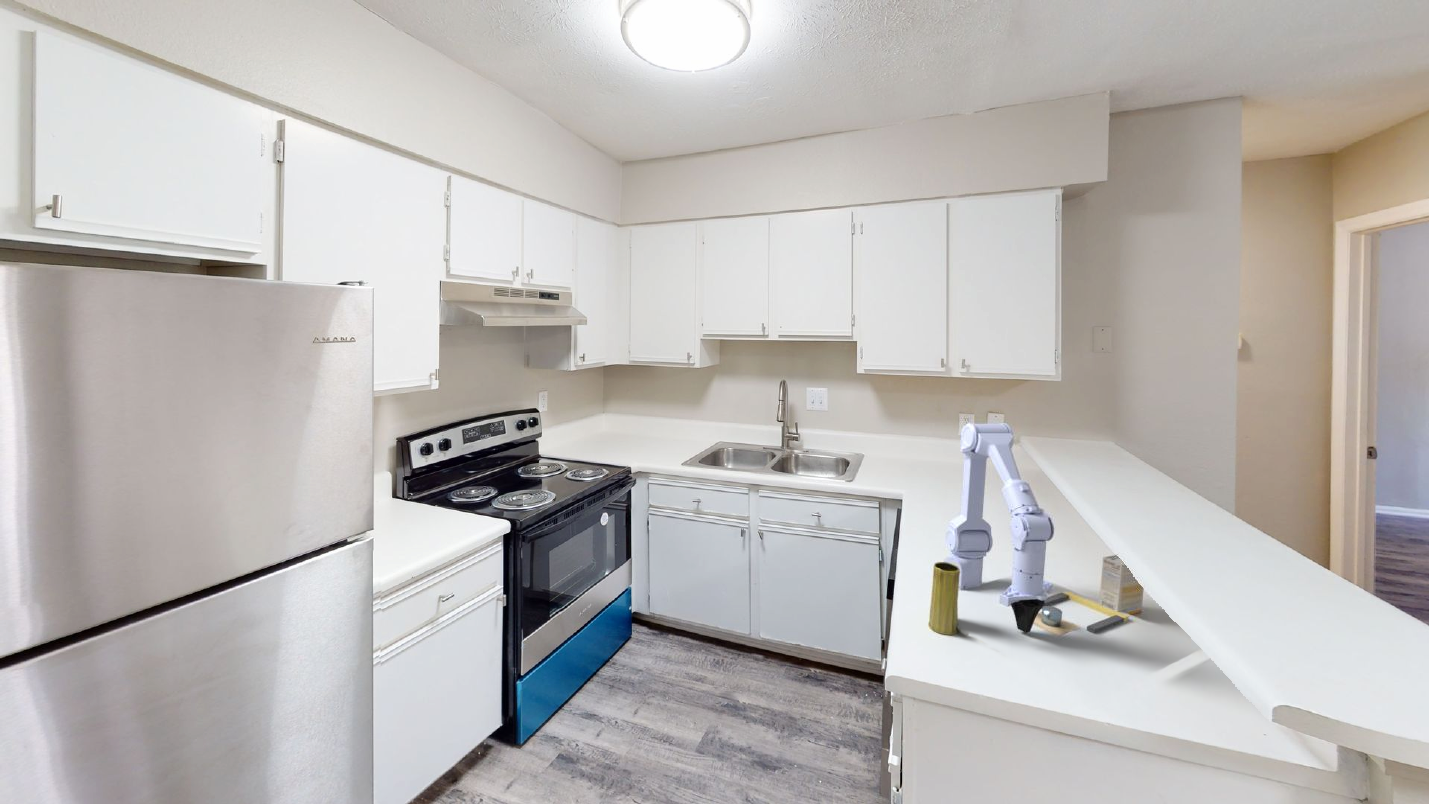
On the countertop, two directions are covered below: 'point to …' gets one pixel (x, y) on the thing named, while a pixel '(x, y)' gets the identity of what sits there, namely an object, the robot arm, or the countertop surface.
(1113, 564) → the supplement box
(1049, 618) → the steel cylinder puck
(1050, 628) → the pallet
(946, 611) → the vase
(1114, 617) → the frame
